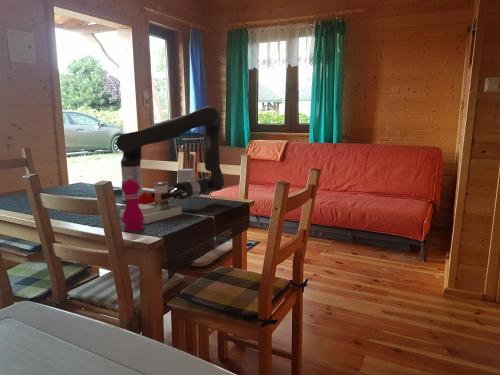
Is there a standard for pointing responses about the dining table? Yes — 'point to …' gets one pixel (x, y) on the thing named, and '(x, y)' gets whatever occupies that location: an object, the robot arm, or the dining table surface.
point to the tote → (159, 213)
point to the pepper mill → (132, 205)
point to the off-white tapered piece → (147, 209)
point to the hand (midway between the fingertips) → (156, 196)
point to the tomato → (145, 198)
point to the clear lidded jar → (158, 190)
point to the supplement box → (185, 175)
